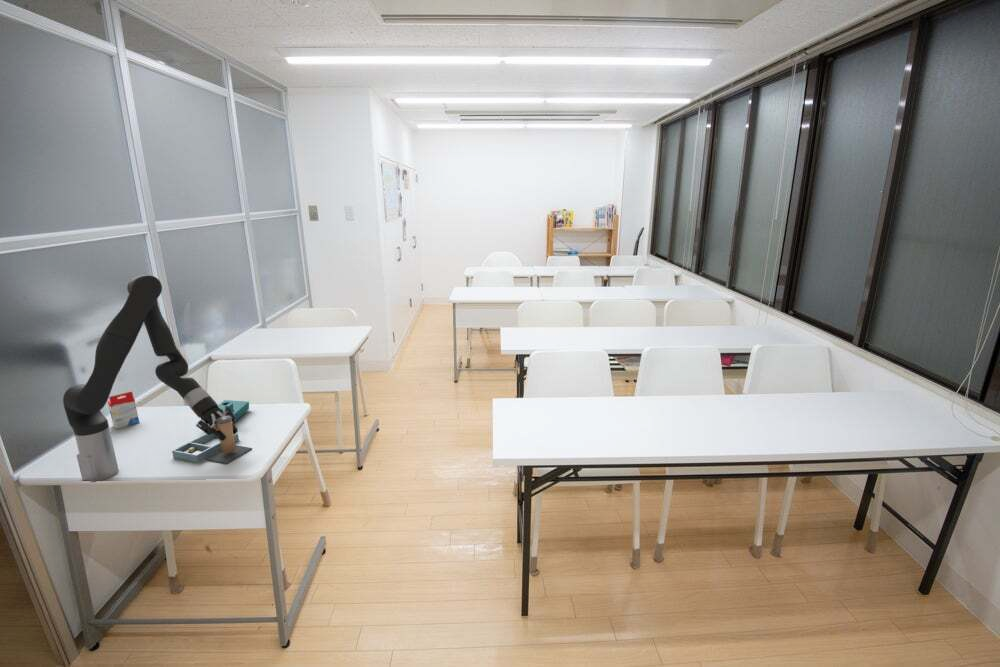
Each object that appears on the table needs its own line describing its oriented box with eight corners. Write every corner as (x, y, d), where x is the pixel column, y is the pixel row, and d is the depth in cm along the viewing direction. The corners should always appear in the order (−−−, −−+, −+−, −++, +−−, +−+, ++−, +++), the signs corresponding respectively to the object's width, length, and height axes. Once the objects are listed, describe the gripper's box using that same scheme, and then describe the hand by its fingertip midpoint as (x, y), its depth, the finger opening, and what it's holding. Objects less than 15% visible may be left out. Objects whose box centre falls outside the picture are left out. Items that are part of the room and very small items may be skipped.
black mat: (226, 464, 179) (226, 463, 179) (205, 460, 182) (205, 458, 182) (252, 449, 190) (252, 448, 190) (231, 445, 193) (231, 444, 193)
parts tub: (197, 462, 180) (196, 455, 179) (173, 457, 183) (171, 450, 183) (239, 440, 197) (237, 433, 197) (215, 435, 201) (214, 429, 200)
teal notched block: (229, 429, 208) (228, 406, 206) (203, 427, 208) (202, 404, 205) (249, 411, 226) (248, 390, 223) (225, 410, 225) (224, 389, 223)
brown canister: (228, 454, 182) (223, 422, 179) (218, 452, 184) (212, 420, 180) (239, 447, 187) (234, 416, 184) (228, 445, 188) (224, 414, 185)
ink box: (136, 419, 216) (130, 388, 212) (139, 422, 213) (133, 391, 209) (112, 426, 210) (105, 394, 206) (115, 429, 207) (108, 397, 203)
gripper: (187, 403, 176) (218, 439, 175) (221, 389, 189) (249, 422, 188) (179, 415, 179) (209, 450, 178) (212, 400, 192) (240, 433, 191)
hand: (230, 435), depth 183 cm, fingers closed on brown canister, 4 cm apart
